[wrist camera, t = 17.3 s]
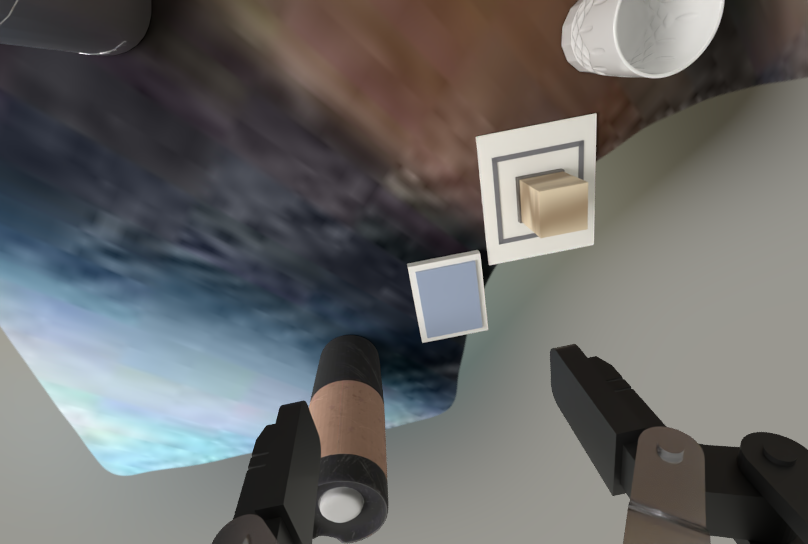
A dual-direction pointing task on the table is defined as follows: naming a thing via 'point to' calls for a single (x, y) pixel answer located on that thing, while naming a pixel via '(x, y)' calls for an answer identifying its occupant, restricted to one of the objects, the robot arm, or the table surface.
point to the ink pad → (449, 295)
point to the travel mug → (350, 441)
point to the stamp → (552, 202)
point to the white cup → (639, 35)
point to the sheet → (531, 154)
